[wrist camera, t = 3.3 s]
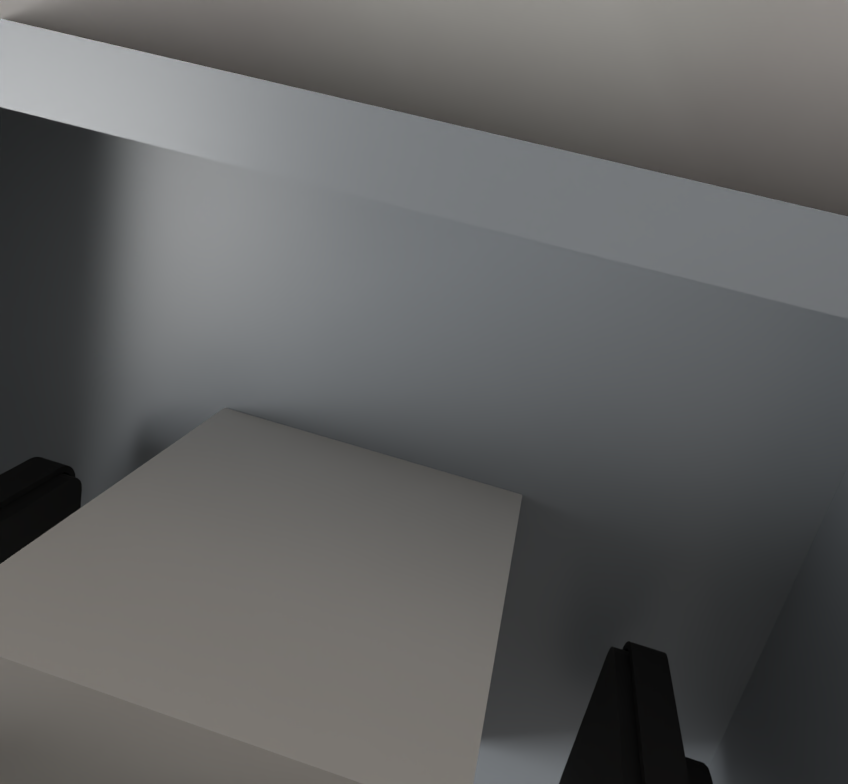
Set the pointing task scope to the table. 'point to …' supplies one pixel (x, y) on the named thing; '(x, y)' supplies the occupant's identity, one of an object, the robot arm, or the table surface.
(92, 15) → the table surface
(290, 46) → the table surface
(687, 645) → the bin
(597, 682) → the robot arm
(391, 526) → the stone block
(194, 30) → the table surface
